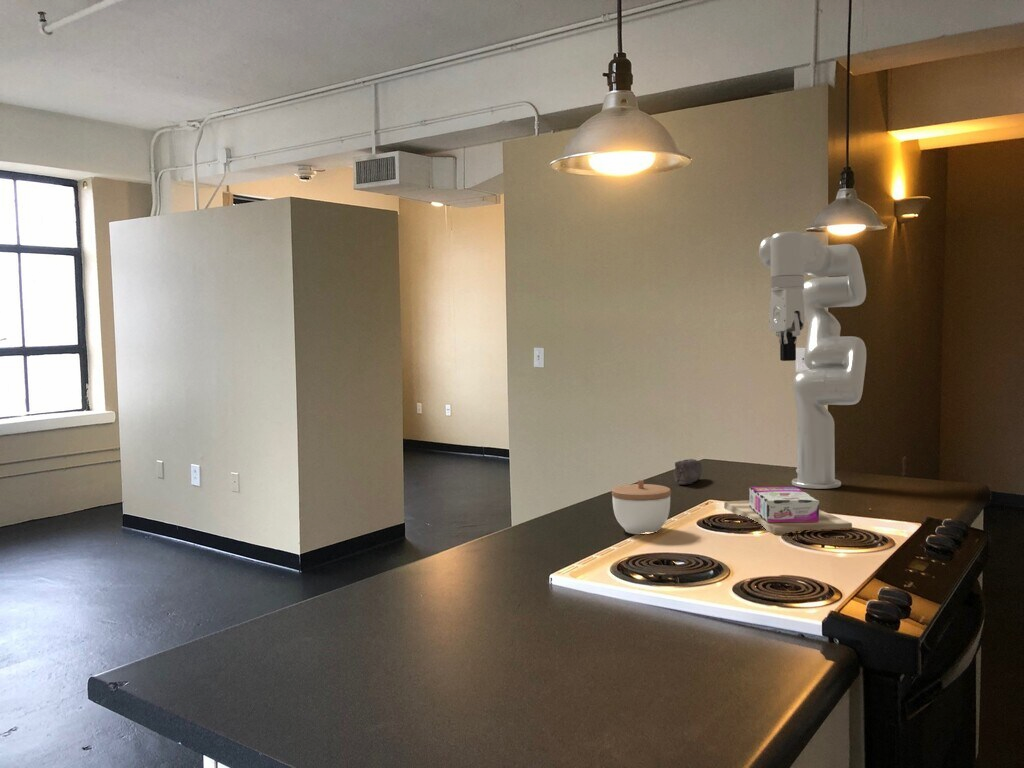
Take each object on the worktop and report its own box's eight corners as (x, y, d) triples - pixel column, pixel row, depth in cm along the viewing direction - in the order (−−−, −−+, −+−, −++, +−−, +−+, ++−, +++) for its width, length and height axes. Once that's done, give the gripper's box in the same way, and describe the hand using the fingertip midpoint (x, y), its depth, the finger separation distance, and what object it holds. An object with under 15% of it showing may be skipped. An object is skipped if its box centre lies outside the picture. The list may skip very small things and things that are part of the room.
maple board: (724, 507, 200) (724, 501, 199) (791, 504, 201) (791, 498, 201) (774, 534, 172) (774, 527, 172) (851, 530, 174) (851, 523, 174)
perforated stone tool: (692, 478, 243) (692, 454, 242) (709, 479, 239) (708, 455, 239) (669, 486, 231) (668, 461, 230) (686, 488, 228) (686, 462, 227)
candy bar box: (748, 508, 192) (765, 523, 175) (748, 486, 192) (765, 499, 175) (798, 507, 191) (819, 523, 175) (798, 486, 191) (819, 499, 174)
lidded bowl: (680, 535, 174) (679, 483, 173) (622, 539, 171) (621, 486, 171) (659, 522, 186) (658, 474, 185) (605, 526, 184) (604, 477, 183)
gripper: (759, 286, 206) (760, 360, 207) (786, 282, 191) (787, 361, 192) (788, 286, 206) (788, 359, 207) (817, 281, 192) (817, 360, 193)
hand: (788, 360), depth 200 cm, fingers closed
